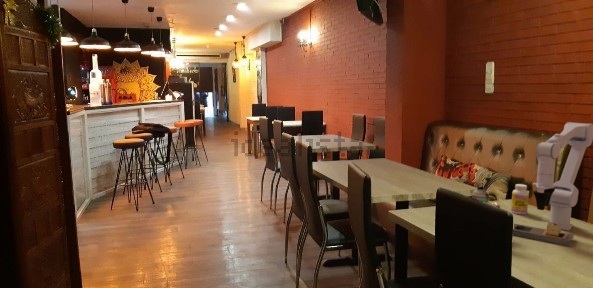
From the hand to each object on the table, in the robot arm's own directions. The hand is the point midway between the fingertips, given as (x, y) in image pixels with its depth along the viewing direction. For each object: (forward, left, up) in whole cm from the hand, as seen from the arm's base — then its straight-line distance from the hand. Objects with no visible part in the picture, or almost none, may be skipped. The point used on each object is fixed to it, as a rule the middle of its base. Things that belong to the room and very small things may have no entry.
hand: (542, 207), depth 176 cm
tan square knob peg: (+5, +5, -11) cm, 13 cm away
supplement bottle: (-25, -14, -11) cm, 31 cm away
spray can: (+20, -18, -11) cm, 29 cm away
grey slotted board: (+5, 0, -10) cm, 11 cm away
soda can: (+14, -16, -11) cm, 23 cm away
